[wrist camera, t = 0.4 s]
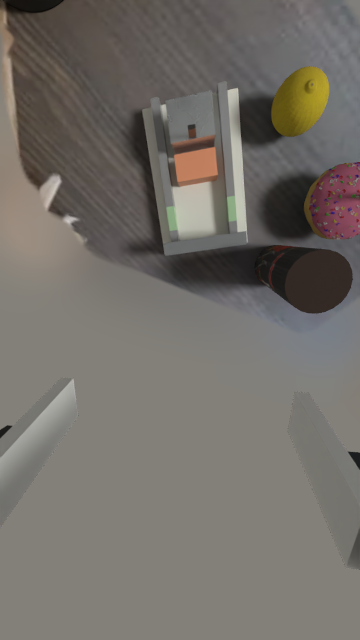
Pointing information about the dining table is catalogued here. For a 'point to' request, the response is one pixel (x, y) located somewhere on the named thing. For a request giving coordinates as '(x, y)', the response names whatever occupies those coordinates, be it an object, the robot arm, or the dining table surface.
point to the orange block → (196, 167)
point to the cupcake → (335, 202)
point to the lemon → (300, 101)
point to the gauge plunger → (191, 122)
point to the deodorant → (305, 276)
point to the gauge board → (204, 198)
